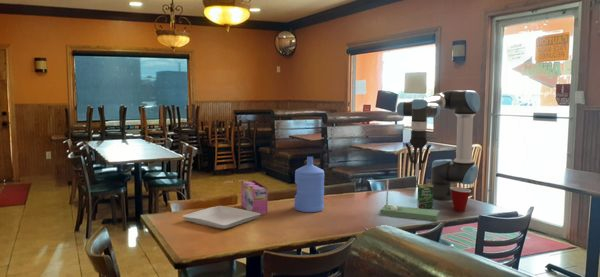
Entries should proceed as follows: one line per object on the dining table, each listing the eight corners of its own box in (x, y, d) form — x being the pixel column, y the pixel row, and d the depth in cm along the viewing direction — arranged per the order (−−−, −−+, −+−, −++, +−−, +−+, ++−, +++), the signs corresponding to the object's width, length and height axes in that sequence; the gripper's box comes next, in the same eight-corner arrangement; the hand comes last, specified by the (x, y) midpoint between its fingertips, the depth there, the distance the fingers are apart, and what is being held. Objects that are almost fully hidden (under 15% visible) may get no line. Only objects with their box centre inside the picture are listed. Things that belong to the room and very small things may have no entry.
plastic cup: (471, 213, 248) (472, 191, 247) (450, 212, 250) (451, 189, 249) (468, 208, 259) (469, 187, 258) (448, 207, 261) (449, 186, 260)
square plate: (225, 233, 207) (225, 224, 206) (180, 223, 221) (180, 215, 221) (261, 219, 230) (262, 212, 229) (219, 211, 244) (219, 204, 244)
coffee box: (418, 208, 257) (419, 184, 256) (416, 207, 260) (417, 183, 259) (432, 208, 257) (433, 185, 256) (431, 207, 260) (432, 184, 259)
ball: (391, 213, 247) (390, 205, 248) (399, 212, 246) (397, 204, 246) (390, 214, 244) (388, 207, 244) (397, 213, 242) (396, 206, 242)
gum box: (239, 205, 258) (240, 180, 257) (253, 203, 261) (254, 179, 260) (253, 215, 236) (253, 188, 235) (268, 214, 239) (268, 187, 238)
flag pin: (386, 205, 253) (387, 179, 251) (387, 205, 252) (388, 179, 251) (384, 206, 249) (385, 180, 248) (386, 206, 249) (387, 180, 248)
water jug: (329, 209, 252) (330, 157, 249) (310, 214, 240) (311, 160, 238) (308, 204, 262) (308, 154, 260) (288, 209, 251) (289, 156, 248)
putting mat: (385, 209, 254) (385, 204, 254) (439, 215, 243) (439, 210, 243) (380, 214, 243) (380, 209, 243) (436, 220, 232) (436, 215, 232)
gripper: (404, 130, 236) (403, 176, 238) (431, 131, 231) (429, 178, 233) (407, 128, 243) (405, 174, 245) (433, 129, 238) (431, 176, 240)
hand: (417, 176), depth 239 cm, fingers closed
